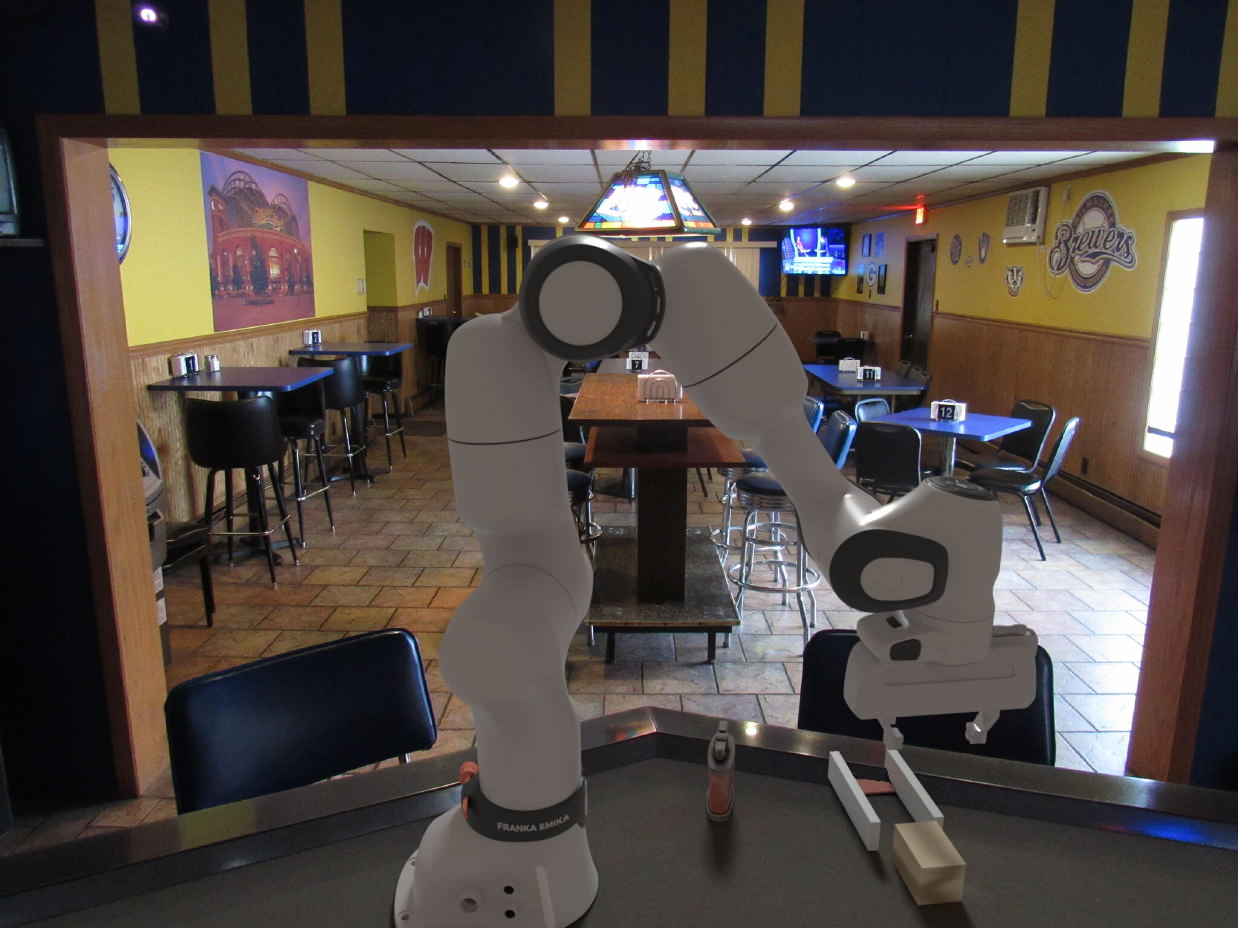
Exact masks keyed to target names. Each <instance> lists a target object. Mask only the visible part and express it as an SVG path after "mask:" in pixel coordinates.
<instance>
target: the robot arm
mask: <svg viewBox="0 0 1238 928" xmlns="http://www.w3.org/2000/svg"><path fill="white" fill-rule="evenodd" d="M519 284H520V285H519V288H518V289H519V290H518V297H517V300H516V302H515V305H513V306H512V307H511V308H510V309H508V310H506V311H503V312H497V313H488V314H484V315H479V316H477V317H474V318H472V319H469V320H468V321H466V322H464V323H463V324H461V325H460V326H458V328H456V329H455V331H454V332H453V333H452V334H451V336H450V338H449V339H448V340H449V341H448V343H447V348H446V357H445V358H446V359H445V373H444V374H445V375H444V407H445V409H444V410H445V423H446V434H447V435H446V436H447V443H448V451H449V458H450V468H451V477H452V484H453V493H454V501H455V508H456V512H457V514H458V517H459V518H460V520H461V521H462V522H463V523H464V524H465V525H466V526H468V527H469V528H471V529H472V532H473V534H474V536H475V538H476V540H477V543H478V546H479V548H480V552H481V555H482V559H483V572H482V577H481V580H480V582H479V584H478V585H477V586H476V587H475V589H473V591H472V592H471V593H470V594H468V596H467V597H466V598H465V599H464V600H463V601H462V602H461V604H459V605H458V607H457V608H456V610H455V611H454V612H453V614H452V617H451V618H450V621H449V623H448V625H447V627H446V629H445V632H444V634H443V637H442V639H441V642H440V645H439V648H438V654H437V655H438V656H437V661H438V662H437V664H438V669H439V673H440V675H441V677H442V680H443V683H444V684H445V686H446V687H447V688H448V690H449V691H450V692H451V693H452V694H453V695H454V696H455V697H456V698H457V699H458V700H460V702H462V703H464V704H465V705H467V706H469V709H470V711H471V714H472V718H473V719H472V720H473V722H474V728H475V736H476V737H475V738H476V739H475V740H476V749H477V750H476V751H477V753H476V754H477V764H476V762H474V761H466V762H463V763H462V765H461V766H460V768H459V773H460V774H459V777H458V779H459V782H460V784H461V785H462V786H461V789H460V790H461V791H460V803H458V804H457V805H456V806H454V807H452V808H451V809H449V810H447V811H446V812H445V813H443V814H441V815H440V816H438V817H436V818H435V819H433V821H432V822H431V823H430V824H429V825H428V827H427V828H426V830H425V832H424V834H423V836H422V838H421V841H420V844H419V846H418V848H417V849H416V850H415V851H414V852H413V853H412V854H411V856H410V857H409V858H408V859H407V861H406V863H405V864H404V866H403V868H402V870H401V873H400V875H399V877H398V882H397V885H396V890H395V896H394V905H393V906H394V907H393V909H394V910H393V911H394V912H393V913H394V914H393V917H394V918H393V919H394V925H395V928H566V927H568V926H570V925H571V924H572V923H574V922H576V921H577V920H578V919H579V918H581V917H582V916H583V915H584V914H585V913H586V912H587V911H588V909H590V907H591V905H592V904H593V902H594V900H595V898H596V896H597V893H598V888H599V875H598V874H599V873H598V872H597V868H596V866H595V863H594V860H593V858H592V854H591V851H590V847H589V842H588V838H587V832H586V820H587V815H588V788H587V786H588V785H587V779H586V775H585V769H584V767H583V766H582V749H581V748H582V746H581V745H582V744H581V743H582V742H581V713H580V709H579V707H578V705H577V703H576V702H575V701H574V699H573V698H572V697H571V696H570V694H569V691H568V686H567V682H566V672H565V671H566V668H565V667H566V661H567V656H568V652H569V648H570V644H571V642H572V640H573V637H574V636H575V634H576V632H578V631H577V630H578V629H579V627H580V625H581V624H582V621H583V620H584V618H585V617H586V615H587V613H588V611H589V608H590V605H591V601H592V595H593V588H594V587H593V586H594V570H593V566H592V563H591V561H590V559H589V557H588V555H587V554H586V553H585V551H584V550H583V548H582V545H581V542H580V537H579V534H578V530H577V527H576V524H575V520H574V517H573V512H572V507H571V501H570V496H569V489H568V487H569V486H568V477H567V476H568V475H567V468H566V467H567V464H566V456H565V454H566V453H565V442H564V432H563V431H564V430H563V421H562V420H563V418H562V410H561V398H560V397H561V395H560V388H561V379H562V374H563V371H564V368H565V367H566V366H567V364H568V363H569V362H570V363H578V364H579V363H581V364H583V363H584V364H585V363H592V362H597V361H602V360H606V359H608V358H612V357H613V356H616V355H620V354H622V353H624V352H628V351H631V350H634V349H638V348H640V347H642V346H648V347H650V349H652V350H653V351H654V352H655V353H656V354H657V355H658V356H659V357H660V359H661V360H662V361H663V362H664V364H665V365H666V367H667V368H668V369H669V371H670V373H671V374H672V375H673V377H674V379H675V380H676V381H677V383H678V384H679V385H680V387H681V388H682V390H683V391H684V393H685V394H686V396H688V398H689V399H690V400H691V402H692V404H694V406H695V407H696V408H697V409H698V410H699V411H700V412H701V414H702V415H703V416H704V417H705V418H706V419H707V420H708V421H709V422H710V423H711V424H712V425H713V426H715V428H716V429H717V430H718V431H720V433H722V434H723V435H724V436H725V437H726V438H729V439H731V440H735V441H739V442H740V441H741V442H743V443H745V444H747V445H748V447H750V448H751V449H752V450H753V451H755V453H756V454H757V455H758V456H759V457H760V459H762V461H763V462H764V464H765V465H766V466H767V468H768V470H769V471H770V472H771V474H772V475H773V477H774V478H775V480H776V481H777V482H778V484H779V485H780V488H781V489H782V490H783V491H784V493H785V494H786V496H787V497H788V500H789V501H790V503H791V505H792V507H793V512H794V517H795V518H794V519H795V524H796V531H797V536H798V539H799V543H800V545H801V546H802V548H803V549H804V550H803V551H805V553H806V554H807V555H808V556H809V558H811V560H812V561H813V562H814V564H815V565H816V567H817V568H818V569H819V571H820V573H821V575H822V576H823V578H824V579H825V581H826V582H827V584H828V585H829V587H830V588H831V589H832V591H833V593H835V596H837V598H838V599H839V600H840V601H841V602H842V603H843V604H845V605H846V606H848V607H849V608H851V609H854V610H856V611H859V612H863V613H868V615H865V616H863V617H861V618H859V619H858V620H857V623H856V633H857V636H858V637H859V639H860V640H859V641H858V642H857V643H856V644H855V645H854V646H853V647H852V649H851V651H850V653H849V656H848V661H847V664H846V670H845V676H844V684H843V685H844V686H843V697H844V698H843V699H844V700H845V703H846V704H847V706H848V707H849V709H850V711H851V712H852V713H853V714H854V715H855V716H856V717H857V718H859V719H860V720H873V719H874V720H875V719H877V720H878V722H879V724H880V726H881V727H882V729H883V737H882V739H883V740H882V741H883V745H884V746H885V749H886V748H887V749H888V750H897V751H901V750H903V748H904V746H903V744H904V735H903V734H902V733H901V732H900V730H899V728H898V727H892V726H891V725H896V722H897V721H896V720H897V718H901V717H902V718H903V717H917V716H930V715H931V716H933V715H944V714H945V715H946V714H959V713H972V712H973V713H975V712H978V713H977V715H976V717H975V718H974V720H973V721H970V722H969V721H968V722H966V723H965V724H966V725H965V728H966V730H965V733H964V734H965V738H966V740H968V741H969V744H971V745H978V744H979V745H980V744H986V742H987V734H988V731H990V729H991V728H992V727H993V725H994V724H995V723H997V721H998V719H999V718H1000V713H1001V710H1002V711H1003V710H1017V709H1018V710H1019V709H1026V708H1029V706H1030V705H1031V704H1032V703H1033V702H1034V701H1035V698H1036V693H1037V692H1036V691H1037V667H1036V664H1037V663H1036V658H1035V657H1036V655H1037V652H1038V647H1039V646H1038V645H1039V638H1038V635H1037V633H1036V631H1034V630H1033V629H1032V628H1030V627H1027V625H1026V624H1023V623H1015V624H1012V625H1003V624H1000V625H995V624H994V621H995V615H996V614H995V611H996V603H995V599H994V586H995V583H996V581H997V579H998V577H999V575H1000V571H1001V562H1002V552H1003V535H1004V533H1003V532H1004V530H1003V529H1004V528H1003V527H1004V526H1003V525H1004V524H1003V511H1002V506H1001V503H1000V501H999V500H998V499H997V497H995V496H994V494H992V493H990V491H988V490H987V489H985V488H984V487H981V485H978V484H976V483H972V482H969V481H967V480H964V479H960V478H956V477H951V476H941V475H939V476H929V477H927V478H925V479H923V480H922V481H921V483H920V484H919V485H918V486H917V487H915V488H914V489H913V490H911V491H909V492H907V493H906V494H904V495H903V496H901V497H900V498H898V499H896V500H894V501H893V500H892V501H891V502H889V503H886V504H885V505H884V504H882V502H881V501H880V500H879V498H878V497H877V496H876V495H875V494H874V493H873V492H871V490H869V489H867V488H866V487H865V486H863V485H861V484H860V483H857V482H856V481H854V480H852V479H850V478H849V477H847V476H846V475H845V474H843V473H842V472H841V470H840V469H839V468H838V466H837V465H836V463H835V462H834V461H833V459H832V456H830V454H829V453H828V451H827V450H826V448H825V446H824V445H823V443H822V442H821V440H820V439H819V437H818V436H817V434H816V432H815V431H814V430H813V427H812V425H810V423H809V420H808V419H807V416H806V413H805V408H804V403H805V401H806V397H807V394H808V389H809V380H808V376H807V374H806V371H805V369H804V366H803V364H802V361H801V359H800V357H799V354H798V352H797V350H796V348H795V346H794V344H793V342H792V340H791V338H790V336H789V335H788V333H787V330H785V328H784V327H783V325H782V324H781V322H780V321H779V319H778V317H777V316H776V314H775V313H774V311H773V310H772V308H771V307H770V306H769V304H768V303H767V302H766V300H765V299H764V298H763V296H762V295H761V294H760V292H759V291H758V289H756V287H755V286H754V285H753V284H752V282H751V281H750V280H749V279H748V278H747V277H746V275H745V274H744V273H743V272H742V271H741V270H740V269H739V268H738V267H737V266H736V265H735V263H734V262H733V261H731V260H730V259H729V257H728V256H726V254H725V253H723V252H722V251H721V250H720V249H719V248H718V247H716V245H715V246H714V245H713V244H710V243H708V242H704V241H692V242H687V243H686V242H685V243H682V244H678V245H676V246H673V247H671V248H670V249H668V250H665V251H664V252H663V253H661V254H660V255H658V256H657V257H656V258H654V259H650V260H646V259H643V258H641V257H639V256H638V255H635V254H632V253H630V252H629V251H627V250H625V249H622V248H621V247H619V246H618V245H617V244H615V242H613V241H611V240H610V239H608V238H605V237H603V236H600V235H598V234H594V233H589V232H571V233H566V234H563V235H560V236H557V237H555V238H553V239H551V240H549V241H547V242H546V243H545V244H543V246H541V248H539V250H537V252H535V254H534V255H533V256H532V257H531V260H530V261H529V263H528V264H527V266H526V269H525V271H524V272H523V275H522V277H521V281H520V283H519Z"/></svg>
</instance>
